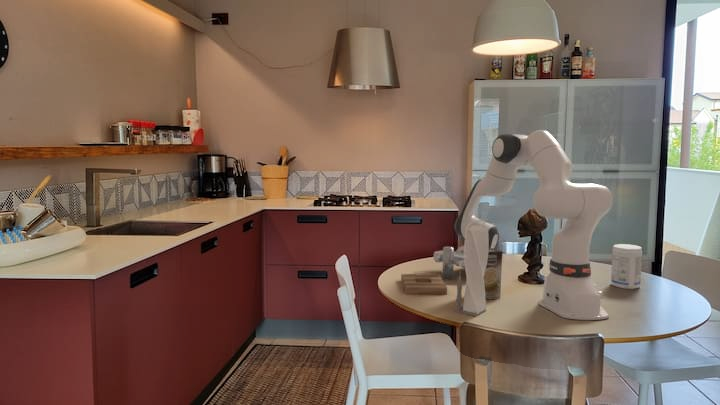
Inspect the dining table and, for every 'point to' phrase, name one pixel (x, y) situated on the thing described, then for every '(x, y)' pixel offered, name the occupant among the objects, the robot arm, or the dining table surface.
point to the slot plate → (423, 284)
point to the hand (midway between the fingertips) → (447, 262)
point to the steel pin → (448, 263)
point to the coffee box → (493, 274)
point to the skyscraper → (474, 271)
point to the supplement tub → (626, 266)
